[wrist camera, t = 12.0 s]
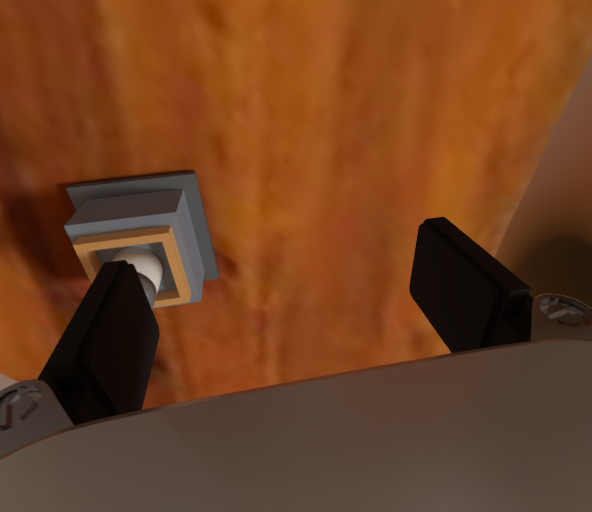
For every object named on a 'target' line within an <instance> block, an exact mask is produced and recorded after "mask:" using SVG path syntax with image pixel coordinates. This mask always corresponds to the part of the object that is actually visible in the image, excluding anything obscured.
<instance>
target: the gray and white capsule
mask: <svg viewBox="0 0 592 512" xmlns="http://www.w3.org/2000/svg"><path fill="white" fill-rule="evenodd" d="M120 260H126V261H127V262H128V264H133V265H134V266H135V268H136V270H137V273H138V276H139V278H140V281H141V283H142V286H143V288H144V291H145V293H146V296H147V298H148V301H149V303H150V306H151V309H152V310H153V306H154V303H155V299H156V296H157V292H158V289H159V285H160V282H161V278H162V275H163V271H164V266H163V263H162V261H161V259H160V257H159V256H158V255H157V254H156V253H154V252H153V251H151V250H149V249H147V248H143V247H136V246H134V247H127V248H124V249H122V250H120V251H119V252H118V253H117V254H116V255H115V256H114V258H113V260H112V261H120Z"/></svg>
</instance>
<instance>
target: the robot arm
mask: <svg viewBox="0 0 592 512" xmlns="http://www.w3.org/2000/svg"><path fill="white" fill-rule="evenodd" d="M530 289H531V288H530V287H529V286H528V285H526V284H525V283H524V282H523V281H521V280H520V279H519V278H518V277H517V276H515V275H514V274H513V273H512V272H511V271H509V270H508V269H507V268H506V267H505V266H503V265H502V264H501V263H500V262H498V261H497V260H496V259H495V258H494V257H492V256H491V255H490V254H489V253H488V252H486V251H485V250H484V249H483V248H481V247H480V246H479V245H478V244H477V243H475V242H474V241H473V240H472V239H471V238H469V237H468V236H467V235H466V234H464V233H463V232H462V231H461V230H460V229H458V228H457V227H456V226H455V225H454V224H452V223H451V222H450V221H449V220H447V219H446V218H445V217H438V218H430V219H426V220H425V221H424V223H423V224H421V225H420V226H419V229H418V236H417V242H416V248H415V255H414V261H413V267H412V274H411V280H410V294H411V296H412V298H413V299H414V300H415V302H416V303H417V305H418V306H419V308H420V309H421V310H422V312H423V313H424V315H425V316H426V317H427V319H428V320H429V322H430V323H431V324H432V326H433V327H434V329H435V330H436V332H437V333H438V334H439V336H440V337H441V339H442V340H443V341H444V343H445V344H446V346H447V347H448V348H449V350H450V351H451V353H450V354H445V355H439V356H433V357H427V358H422V359H416V360H410V361H404V362H399V363H393V364H387V365H382V366H376V367H370V368H365V369H359V370H354V371H348V372H342V373H337V374H331V375H326V376H320V377H315V378H309V379H304V380H298V381H293V382H287V383H282V384H276V385H271V386H265V387H260V388H254V389H249V390H244V391H238V392H233V393H228V394H222V395H217V396H211V397H206V398H201V399H195V400H190V401H185V402H179V403H174V404H169V405H164V406H159V407H154V408H149V409H144V410H142V406H143V402H144V398H145V394H146V390H147V386H148V381H149V377H150V373H151V369H152V365H153V361H154V356H155V352H156V348H157V344H158V340H159V327H158V324H157V321H156V319H155V316H154V314H153V311H152V309H151V306H150V303H149V301H148V298H147V296H146V293H145V291H144V288H143V286H142V283H141V281H140V278H139V276H138V273H137V270H136V268H135V266H134V265H133V264H128V262H127V261H126V260H120V261H112V262H105V263H104V264H103V265H102V267H101V268H100V270H99V272H98V274H97V275H96V277H95V279H94V281H93V282H92V284H91V286H90V288H89V290H88V291H87V293H86V295H85V297H84V298H83V300H82V302H81V304H80V305H79V307H78V309H77V311H76V312H75V314H74V316H73V318H72V319H71V321H70V323H69V325H68V326H67V328H66V330H65V332H64V333H63V335H62V337H61V339H60V340H59V342H58V344H57V346H56V347H55V349H54V351H53V353H52V354H51V356H50V358H49V360H48V361H47V363H46V365H45V367H44V368H43V370H42V372H41V374H40V375H39V377H38V379H33V380H25V381H22V382H19V383H15V384H13V385H11V386H9V387H7V388H5V389H3V390H1V391H0V512H592V309H591V308H590V307H588V306H587V305H585V304H584V303H582V302H580V301H578V300H576V299H573V298H570V297H567V296H563V295H557V294H544V295H539V296H537V297H536V298H534V299H533V298H532V297H531V296H530V295H529V292H530Z"/></svg>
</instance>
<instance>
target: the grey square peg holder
mask: <svg viewBox="0 0 592 512" xmlns="http://www.w3.org/2000/svg"><path fill="white" fill-rule="evenodd" d="M66 190H67V192H68V194H69V196H70V198H71V201H72V203H73V205H74V207H75V209H76V213H75V214H74V215H73V216H72V217H71V218H70V219H69V221H68V222H67V223H66V224H65V225H64V228H65V230H66V232H67V234H68V236H69V238H70V240H71V242H72V244H73V247H74V249H75V251H76V253H77V255H78V257H79V259H80V261H81V263H82V265H83V267H84V270H85V272H86V274H87V276H88V278H89V280H90V282H91V284H92V282H93V281H94V279H95V277H96V275H97V274H98V272H99V270H100V268H101V267H102V265H103V264H104V263H105V262H112V260H113V258H114V256H115V255H116V254H117V253H118V252H119V251H120V250H122V249H124V248H127V247H134V246H136V247H143V248H147V249H149V250H151V251H153V252H154V253H156V254H157V255H158V256H159V257H160V259H161V261H162V263H163V266H164V271H163V275H162V278H161V282H160V285H159V289H158V292H157V296H156V299H155V303H154V306H153V308H160V307H167V306H173V305H180V304H186V303H193V302H200V301H201V297H202V288H203V281H205V280H212V279H219V273H218V268H217V264H216V260H215V255H214V251H213V247H212V242H211V238H210V234H209V229H208V225H207V221H206V216H205V212H204V208H203V203H202V199H201V195H200V190H199V186H198V182H197V177H196V173H195V171H190V172H181V173H172V174H163V175H154V176H145V177H136V178H127V179H118V180H109V181H100V182H91V183H82V184H73V185H69V186H68V187H67V188H66Z"/></svg>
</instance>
